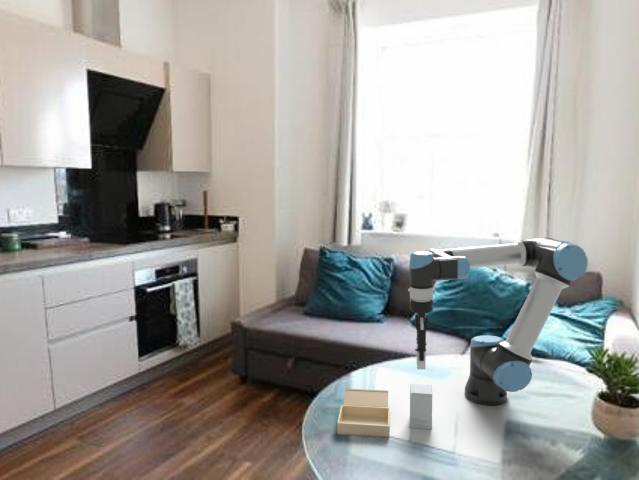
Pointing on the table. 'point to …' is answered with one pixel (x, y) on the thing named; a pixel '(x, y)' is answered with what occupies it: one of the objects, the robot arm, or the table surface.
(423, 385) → the supplement box
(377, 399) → the lid flap
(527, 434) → the table surface
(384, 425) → the box
